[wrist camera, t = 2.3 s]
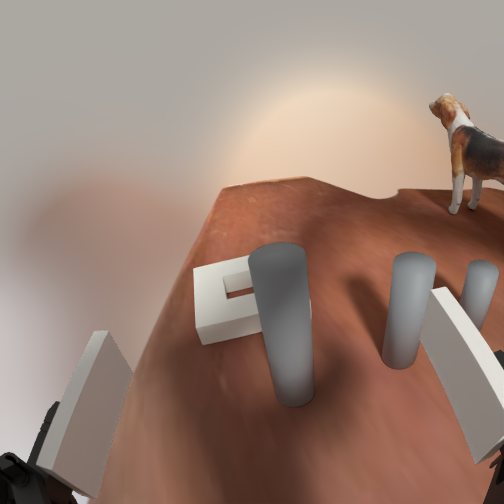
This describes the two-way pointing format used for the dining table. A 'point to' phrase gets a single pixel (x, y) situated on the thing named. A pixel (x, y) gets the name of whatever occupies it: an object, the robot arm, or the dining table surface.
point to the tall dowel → (285, 319)
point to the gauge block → (224, 301)
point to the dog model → (468, 150)
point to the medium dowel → (407, 308)
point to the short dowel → (478, 290)
